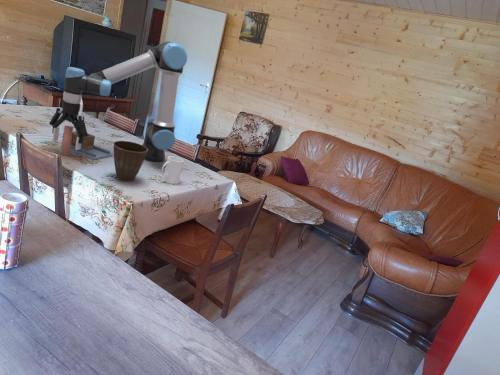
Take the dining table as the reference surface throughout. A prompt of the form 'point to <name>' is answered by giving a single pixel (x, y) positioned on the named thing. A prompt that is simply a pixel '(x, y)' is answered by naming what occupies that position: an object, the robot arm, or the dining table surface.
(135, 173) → the plant pot
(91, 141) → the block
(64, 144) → the dowel
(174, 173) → the mug
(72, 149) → the rail board
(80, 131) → the robot arm
